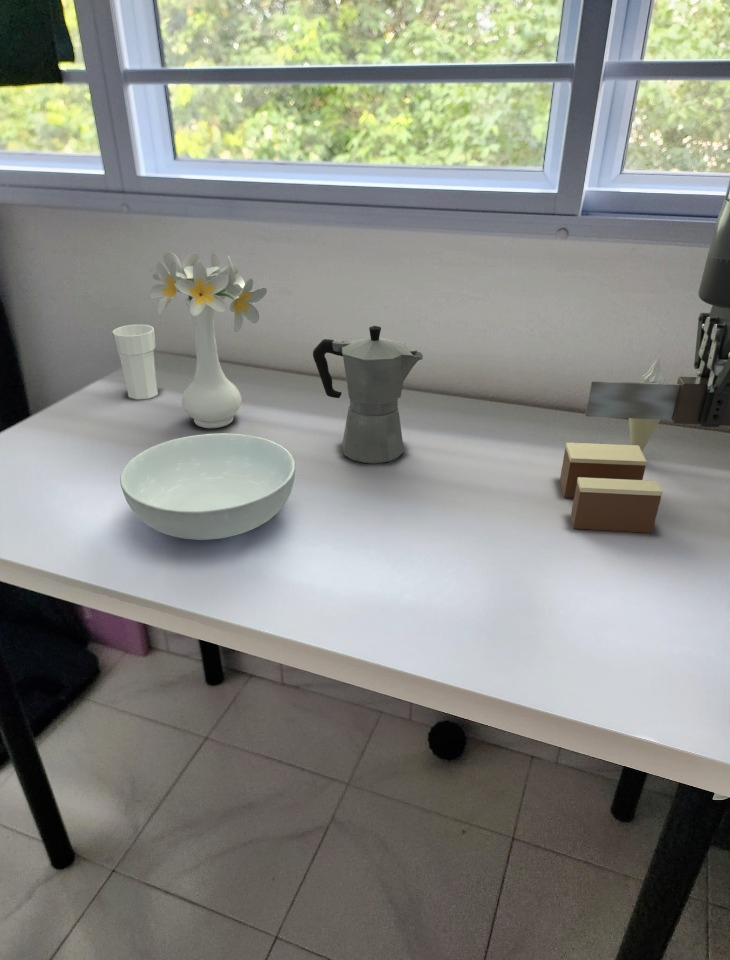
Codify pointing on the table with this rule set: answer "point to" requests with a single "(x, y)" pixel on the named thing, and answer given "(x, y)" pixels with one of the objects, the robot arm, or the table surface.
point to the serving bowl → (208, 484)
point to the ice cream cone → (645, 427)
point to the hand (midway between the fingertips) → (705, 419)
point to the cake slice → (615, 504)
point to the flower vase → (207, 328)
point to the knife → (651, 400)
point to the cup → (137, 359)
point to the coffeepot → (370, 393)
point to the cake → (600, 463)
